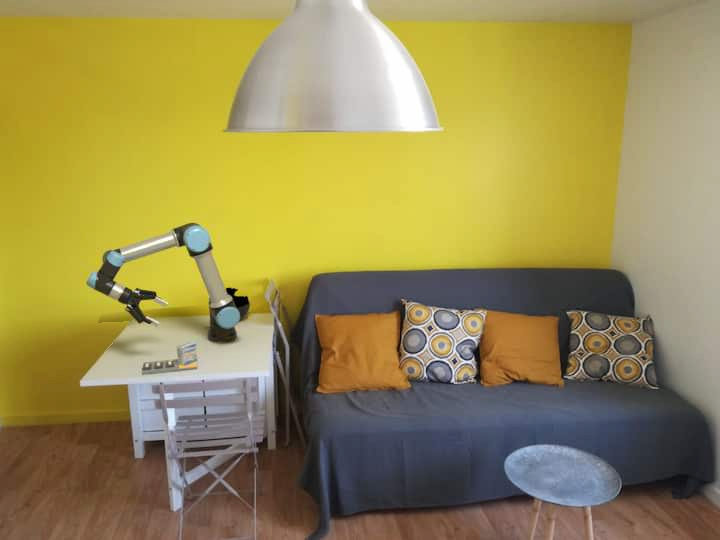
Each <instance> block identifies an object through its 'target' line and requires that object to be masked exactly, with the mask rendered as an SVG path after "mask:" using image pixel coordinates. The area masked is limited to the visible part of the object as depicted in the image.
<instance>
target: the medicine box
mask: <svg viewBox="0 0 720 540" xmlns="http://www.w3.org/2000/svg"><path fill="white" fill-rule="evenodd" d="M197 350H198V349H197V343H195V342H192V341H190V342H186V343H184V344H181V345H179V346H178V345H177V346H176V352H177V353H176V354H177V359H178V364H181V365H184V366H185V365H187V364H190V363H192V362H195V361H197V362H198V354H197V353H198V352H197Z"/></svg>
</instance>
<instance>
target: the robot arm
mask: <svg viewBox="0 0 720 540" xmlns="http://www.w3.org/2000/svg"><path fill="white" fill-rule="evenodd" d="M175 247H177V248H182V247H186V250H187V252H188V255H189V257H190V258H192V259H194V261H195V264H196V267H197V268H198V271H199V275H200V276H201V278H202V281H203V284H204V286H205V289H206V292H207V294H208V295H209V298H208V307H209V308H208V311H209V328H208V331H207V340H208V341H209V340H210V341H209V342H212V341H213V342H212V343H225V342H224V341H227V342H230V341H229V340H231V341H233V340H232V339H234V338H235V339H237V337H238V332H237V330H236V326H237V325H238V324H239V322H240V320H241V319H240V313H239V311H238V309H237V308H236V306H235V303H234V301H233V298H232V297H231V296H230V295H228V294H227V291H226V286H225V284H224V281H223V278H222V277H221V274H220V271H219V269H218V266H217V264H216V261H215V258H214V256H213V253H212V251H213V250H214V246H213V244H212V241H211V236H210V234H209V232H208V231H207V229H206V228H204V227H203V226H201V225H200V224H199V223H197V222H188V223H186V224H183V225H180V226H177V227H174V228H172V229H171V230H170V231H168V232H166V233H162V234H159V235H156V236H153V237H150V238H147V239H143V240H141V241H138V242H134V243H132V244H128V245H125V246H122V247H119V248H116V249H108V250H106V251H104V253H103V254H102V256H101V257H102V258H101V259H102V260H101V261H102V264H101V266H100V268H99V269H98V271H96V270H94V271H92V272H91V274H90V275H89V277H88V279H87V280H86V282H85V283H86V285H87V287H90V288H91V289H92V290H94V291H96V292H99V293H100V294H102V295H105V296H107V297H108V298H110V299H112V300H115V301H116V300H117V302H118V303H120V304H123V305H126V306H125V308H124V311H126V312H127V313H129V314H130V316H131V317H132V318H133V319H134V320H135V321H136V322H137V323H138V324H140V325H141V324H142V323H146V324H148V325H151V326H154V327H155V328H158V327H159V325H160V322H159V321H157V320H155V319H153V318H152V317H150V316H145V314H144V312H143V311H142V309H141V307H140V303H141V301H148V300H151V301H153V302H154V303H156V304H158V305H159V306H162V307H164V308H167V306H168V305H169V303H168V302H167V301H165V300H163V299H162V298H161V297H159V296H157V295H158V294H157V291H154V290H147V289H141V288H139V287H136V288H135V289H134V291H133V289H131V288H129V287H128V286H125V285H124V284H121V283H119V282H117V281H115V280H114V279H115V277H116V276H117V274H118V273H119V271H120V270H121V269H122V266H124V264H126V263H130V262H132V261H135V260H138V259H141V258H144V257H147V256H150V255H154V254H156V253H160V252H162V251H165V250H169V249H172V248H175ZM235 339H234V340H235Z"/></svg>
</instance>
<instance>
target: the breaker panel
mask: <svg viewBox="0 0 720 540" xmlns="http://www.w3.org/2000/svg"><path fill="white" fill-rule="evenodd" d="M194 370H198V360H197V361H195V362H192V363H190V364H187V365H185V366H184V365H181V364H178V358H176V359H174V358H173V359H164V360H155V361H145V362H143V364H142V370H141V371H142V372H141V375H142V374H143V375H142V376H145V375H144V374H148V375H156V374H165V373H174V372H175V373H176V372H183V371H184V372H185V371H194Z"/></svg>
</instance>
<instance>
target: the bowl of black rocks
mask: <svg viewBox="0 0 720 540" xmlns="http://www.w3.org/2000/svg"><path fill="white" fill-rule="evenodd" d="M225 289H226V291H227V294H228V295H230V296H231V297H232V298H233V301H234V303H235V306H236V308H237V309H238V311H239V313H240V320H241V319H243V318H244V317H245V316H246V315H247V314H248V312H249V310H250V307H251V302H250V301H249V296H248V295H245V296H244V295H235V294H236V293H237V292H238V291H239V289H238V288H235V287H233V288H232V286H231V287H225Z"/></svg>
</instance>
